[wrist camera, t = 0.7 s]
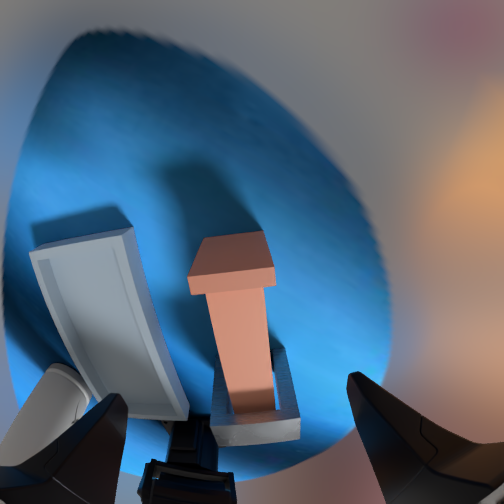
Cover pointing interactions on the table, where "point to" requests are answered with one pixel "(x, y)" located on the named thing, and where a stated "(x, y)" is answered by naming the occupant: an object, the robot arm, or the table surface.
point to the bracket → (258, 423)
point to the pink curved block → (239, 313)
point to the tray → (110, 321)
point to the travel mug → (45, 414)
